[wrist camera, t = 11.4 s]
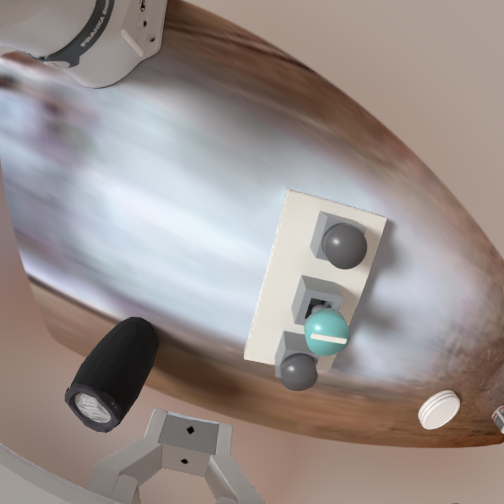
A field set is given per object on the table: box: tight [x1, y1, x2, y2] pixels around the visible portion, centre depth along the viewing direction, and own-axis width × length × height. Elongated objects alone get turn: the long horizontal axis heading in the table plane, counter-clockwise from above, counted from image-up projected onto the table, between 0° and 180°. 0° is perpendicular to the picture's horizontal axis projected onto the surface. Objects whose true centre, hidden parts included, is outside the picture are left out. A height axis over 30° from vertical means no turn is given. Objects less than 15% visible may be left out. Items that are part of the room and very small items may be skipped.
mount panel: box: [244, 189, 387, 378], centre depth 41 cm, size 26×14×8 cm, turn 167°
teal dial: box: [304, 304, 350, 356], centre depth 34 cm, size 5×5×7 cm
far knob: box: [281, 353, 318, 391], centre depth 41 cm, size 5×5×6 cm
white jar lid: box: [418, 390, 460, 429], centre depth 51 cm, size 10×10×4 cm
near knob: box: [322, 223, 367, 270], centre depth 36 cm, size 5×5×6 cm
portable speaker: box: [65, 317, 158, 433], centre depth 39 cm, size 9×9×20 cm
